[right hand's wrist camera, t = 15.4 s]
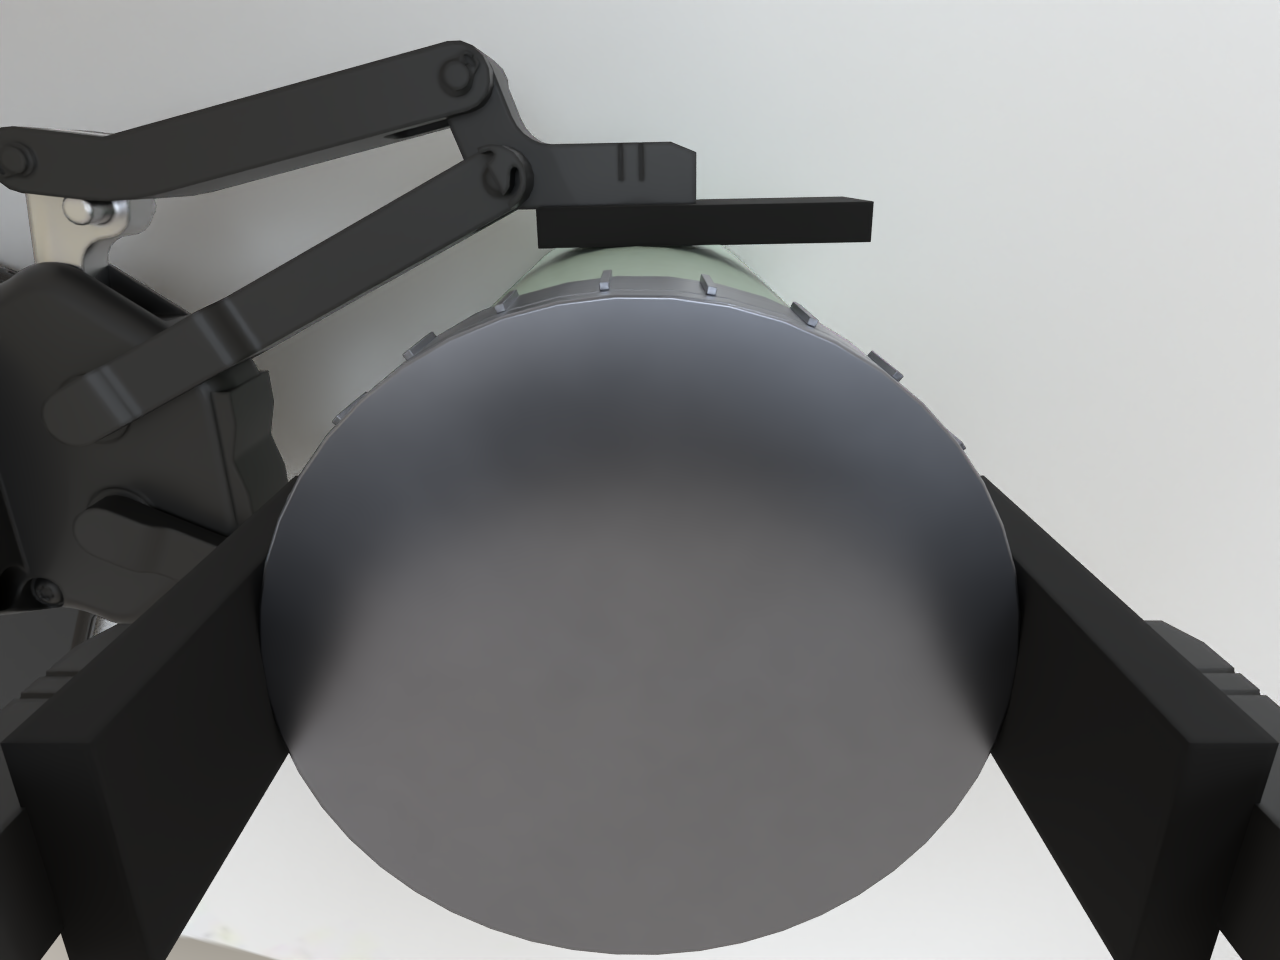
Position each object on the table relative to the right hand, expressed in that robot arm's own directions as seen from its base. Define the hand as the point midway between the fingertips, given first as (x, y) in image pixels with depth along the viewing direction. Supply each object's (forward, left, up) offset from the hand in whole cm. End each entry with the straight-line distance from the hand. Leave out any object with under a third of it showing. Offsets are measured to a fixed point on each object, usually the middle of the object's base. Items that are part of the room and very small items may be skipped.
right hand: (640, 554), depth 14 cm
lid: (0, 0, +3) cm, 3 cm away
